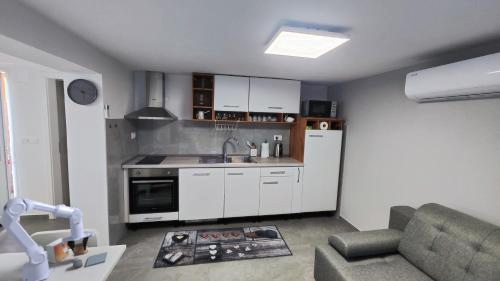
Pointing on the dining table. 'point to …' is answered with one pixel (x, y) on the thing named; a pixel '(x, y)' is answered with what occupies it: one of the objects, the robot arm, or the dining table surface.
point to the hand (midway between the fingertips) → (79, 250)
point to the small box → (57, 251)
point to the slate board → (96, 259)
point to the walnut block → (79, 249)
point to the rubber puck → (77, 264)
